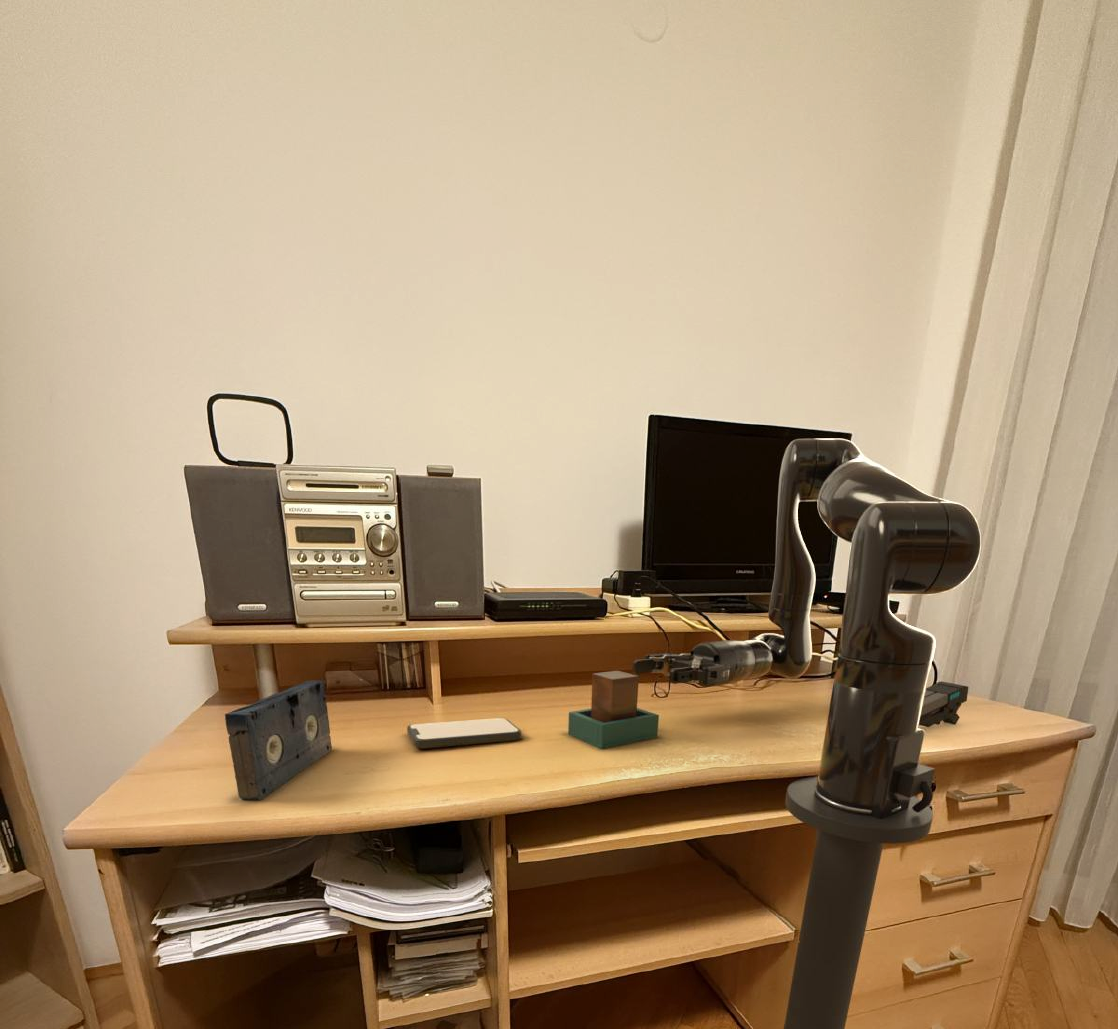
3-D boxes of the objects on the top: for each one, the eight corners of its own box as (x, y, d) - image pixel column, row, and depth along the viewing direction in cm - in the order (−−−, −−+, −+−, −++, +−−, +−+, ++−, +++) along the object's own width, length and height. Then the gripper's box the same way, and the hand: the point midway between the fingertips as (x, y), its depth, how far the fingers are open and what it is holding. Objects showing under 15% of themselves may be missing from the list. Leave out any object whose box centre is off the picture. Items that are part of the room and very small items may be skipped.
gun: (968, 722, 101) (970, 669, 96) (893, 776, 94) (891, 722, 90) (942, 716, 104) (942, 665, 100) (867, 767, 98) (864, 715, 93)
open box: (657, 737, 91) (659, 714, 90) (601, 749, 85) (602, 725, 84) (622, 724, 98) (623, 703, 97) (568, 734, 92) (568, 712, 91)
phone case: (505, 726, 96) (406, 734, 90) (505, 716, 96) (405, 724, 90) (523, 742, 89) (416, 751, 83) (524, 731, 88) (416, 740, 82)
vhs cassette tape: (316, 748, 83) (307, 679, 80) (336, 749, 83) (328, 680, 80) (233, 800, 66) (219, 714, 63) (258, 801, 66) (245, 715, 63)
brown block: (635, 733, 91) (639, 676, 88) (610, 738, 88) (613, 679, 85) (615, 725, 95) (617, 670, 92) (590, 730, 92) (592, 673, 89)
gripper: (693, 636, 106) (623, 642, 97) (758, 646, 95) (687, 654, 86) (689, 677, 108) (621, 686, 99) (753, 692, 97) (683, 704, 88)
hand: (652, 671), depth 93 cm, fingers open, 8 cm apart
